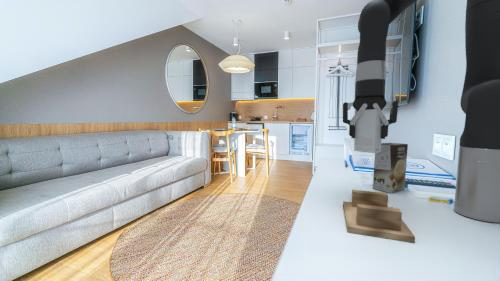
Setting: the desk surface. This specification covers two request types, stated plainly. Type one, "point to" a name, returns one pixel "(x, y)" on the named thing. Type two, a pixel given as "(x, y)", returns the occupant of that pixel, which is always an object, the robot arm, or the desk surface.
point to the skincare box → (368, 132)
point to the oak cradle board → (374, 231)
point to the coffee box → (390, 167)
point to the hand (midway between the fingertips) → (367, 138)
